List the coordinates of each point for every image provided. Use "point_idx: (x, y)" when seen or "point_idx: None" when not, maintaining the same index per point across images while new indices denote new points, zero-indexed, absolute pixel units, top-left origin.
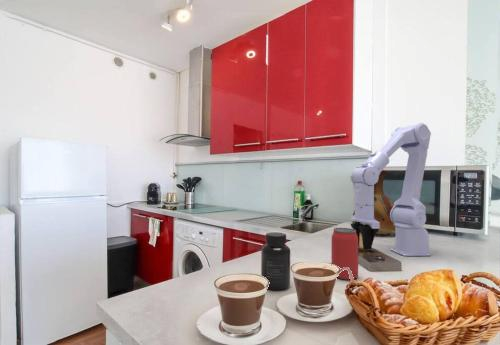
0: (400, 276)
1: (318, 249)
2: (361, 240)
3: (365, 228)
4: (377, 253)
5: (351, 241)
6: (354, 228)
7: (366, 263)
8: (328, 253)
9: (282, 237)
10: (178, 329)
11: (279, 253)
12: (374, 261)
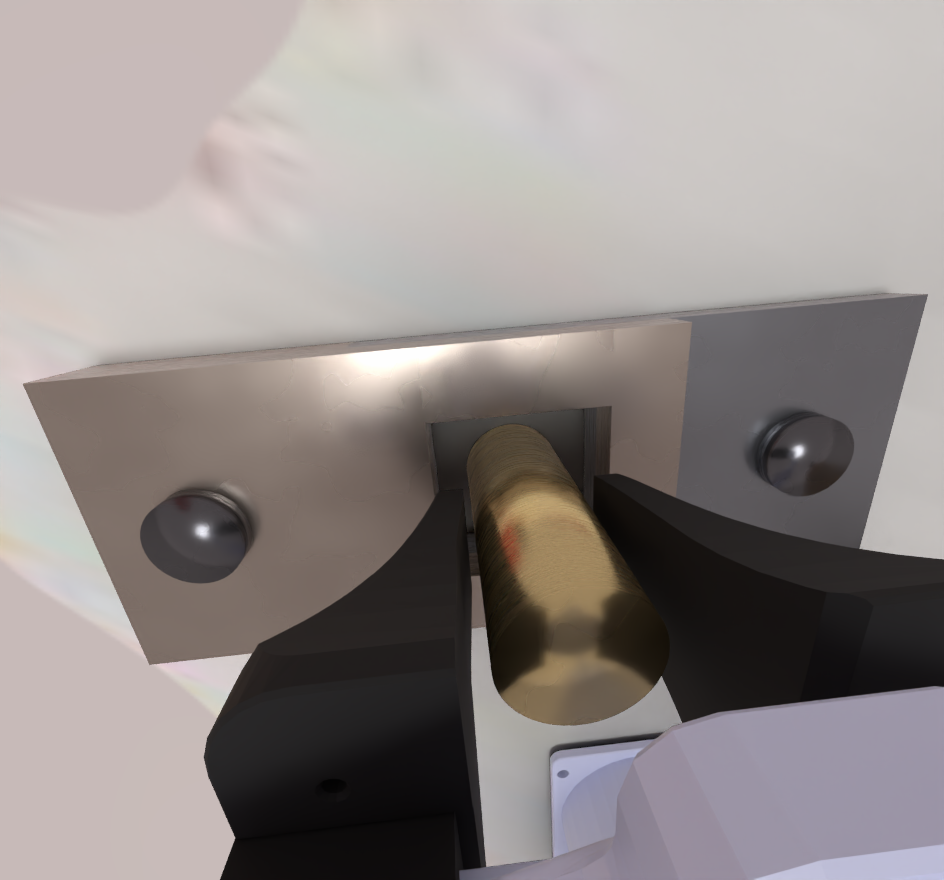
0: (46, 552)
1: (906, 18)
2: (515, 525)
3: (220, 748)
4: None
5: None
6: (758, 569)
7: (132, 369)
8: (703, 114)
9: None
10: None
11: None
12: (87, 445)
